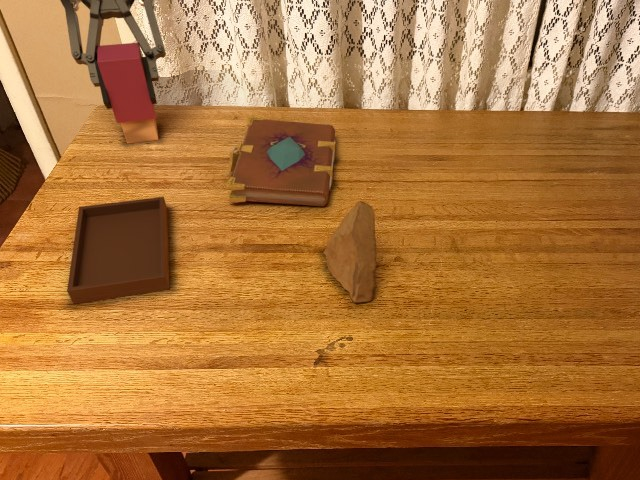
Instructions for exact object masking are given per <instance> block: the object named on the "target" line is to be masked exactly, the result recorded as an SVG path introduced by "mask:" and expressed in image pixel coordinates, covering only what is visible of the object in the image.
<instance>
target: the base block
mask: <svg viewBox="0 0 640 480" xmlns="http://www.w3.org/2000/svg"><path fill="white" fill-rule="evenodd" d="M156 120H157V119H150V120H141V121H132V122H123V123H120V125H121V129H122V132H123V135H124V138H125V142H126V144H134V143H135V144H136V143H145V142H152V141H159V132H158V124H157V121H156Z"/></svg>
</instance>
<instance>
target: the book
mask: <svg viewBox="0 0 640 480" xmlns="http://www.w3.org/2000/svg"><path fill="white" fill-rule="evenodd" d="M246 127H247V129H246V132H245V136H244V138H243V141H240V142H239V145H235V146H234V147H233V149H232V151H229V162H228V166H227V171H226V172H228V173H232V176H231V177H230V178H229V179H228V180H227V181H226V182H227V183H226V186H225V189H228V190H230V192H229V193H228V196H227V201H228V202H231V203H246V202H258V203H273V204H285V205H286V204H287V205H299V206H301V205H302V206H313V207H314V206H315V207H324V206H325V205H327V203H328V201H329V196H330V195H329V194H330V190H331V187H333V171H334V162H335V160H336V139H335V138H336V129H335V127H334V126H333V124H323V123H311V122H301V121H289V120H279V119H269V118H268V119H266V118H263V117H262V116H261V117H260V116H256V115H251V116H247V118H246ZM235 151H236V152H235Z"/></svg>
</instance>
